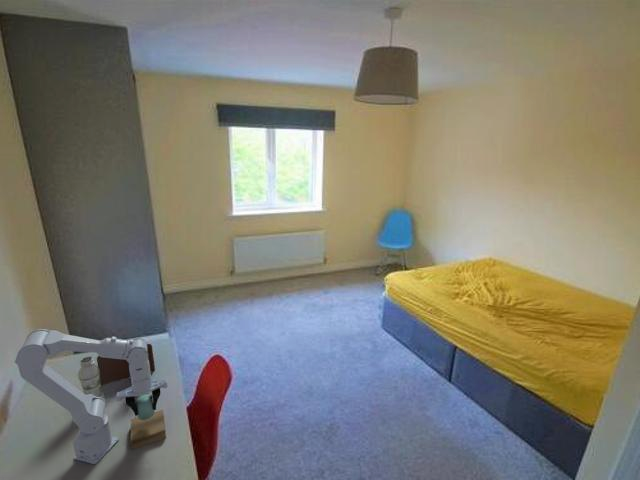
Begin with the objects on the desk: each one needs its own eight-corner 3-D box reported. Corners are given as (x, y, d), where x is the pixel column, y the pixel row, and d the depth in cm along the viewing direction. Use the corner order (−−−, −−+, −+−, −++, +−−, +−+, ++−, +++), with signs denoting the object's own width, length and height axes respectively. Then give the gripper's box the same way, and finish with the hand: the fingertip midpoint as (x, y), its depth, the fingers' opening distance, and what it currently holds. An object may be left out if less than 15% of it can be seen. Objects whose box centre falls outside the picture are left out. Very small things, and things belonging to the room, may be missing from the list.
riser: (166, 437, 112) (165, 430, 111) (131, 449, 108) (130, 441, 107) (163, 416, 121) (163, 409, 120) (132, 426, 116) (131, 419, 115)
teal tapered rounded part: (147, 421, 110) (145, 405, 108) (134, 418, 111) (132, 403, 109) (157, 410, 114) (155, 395, 113) (145, 408, 115) (143, 393, 114)
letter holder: (155, 371, 145) (151, 342, 141) (101, 386, 136) (95, 355, 132) (153, 359, 154) (150, 331, 150) (102, 372, 144) (97, 342, 140)
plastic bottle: (96, 414, 121) (86, 366, 116) (80, 411, 122) (70, 363, 117) (110, 402, 127) (102, 355, 122) (95, 399, 128) (86, 353, 123)
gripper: (164, 362, 115) (168, 396, 119) (115, 375, 109) (121, 410, 112) (166, 374, 109) (170, 409, 113) (114, 388, 103) (120, 425, 106)
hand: (145, 410), depth 112 cm, fingers closed on teal tapered rounded part, 5 cm apart
